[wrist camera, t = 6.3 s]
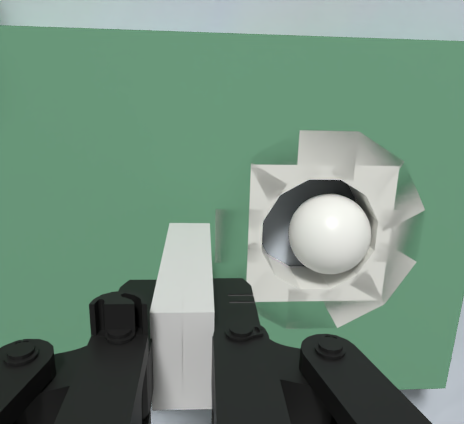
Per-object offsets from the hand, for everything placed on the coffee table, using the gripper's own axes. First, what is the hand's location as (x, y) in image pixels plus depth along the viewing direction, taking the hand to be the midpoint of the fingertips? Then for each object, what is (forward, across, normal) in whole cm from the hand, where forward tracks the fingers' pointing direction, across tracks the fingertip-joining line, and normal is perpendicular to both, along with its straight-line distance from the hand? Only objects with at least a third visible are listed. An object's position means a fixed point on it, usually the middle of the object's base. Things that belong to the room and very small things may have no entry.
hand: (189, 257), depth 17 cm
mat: (+5, 0, 0) cm, 5 cm away
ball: (+3, +6, 0) cm, 7 cm away
